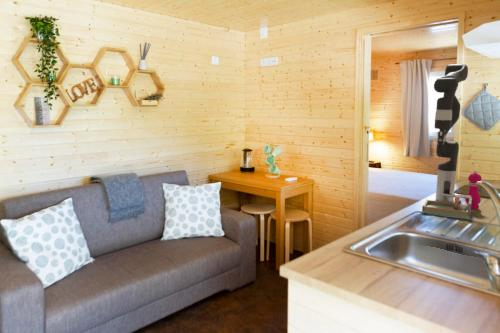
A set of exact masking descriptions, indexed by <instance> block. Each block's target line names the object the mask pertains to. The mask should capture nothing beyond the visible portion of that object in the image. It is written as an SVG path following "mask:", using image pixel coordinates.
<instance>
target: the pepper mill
mask: <svg viewBox="0 0 500 333" xmlns="http://www.w3.org/2000/svg"><path fill="white" fill-rule="evenodd" d="M467 180H468V181H469V182H468V185H469V190H468V192H467V193H466V195H470V196H471V197H472V202H471V210H475V211H476V210H480V205H479V204H480V203H481V202H482V199H481V195H480V193H479V187H480V186H478V185H476V182H477V181H480V182H481V181H482V175H481V174H479V173H478V171H477V170H473V173H470V174H469V175H468V177H467ZM464 201H465V204H469V199H468V198H464Z"/></svg>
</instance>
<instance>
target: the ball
mask: <svg viewBox="0 0 500 333" xmlns="http://www.w3.org/2000/svg"><path fill="white" fill-rule="evenodd" d="M460 210H461V211H467V210H468V205H467V203H466V202H465V203H461V204H460Z"/></svg>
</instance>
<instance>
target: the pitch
mask: <svg viewBox="0 0 500 333" xmlns="http://www.w3.org/2000/svg"><path fill="white" fill-rule="evenodd" d="M471 202H472V197H471V199H469V204H467V203H466V204H467V205H468V210H467V211H461V210H460V204H462V200H461V199H460V201H459V205H458V209H457V210H454V202H444V201H438V200H431V199H426V200H425V201H424V203H423V205H422V207H421V208H422V209H421V213H422V214H424V213H428V214H427V215H432V214H434V216H440V215H441V216H442V217H448V216H449V217H450V218H456V217H459V218H458V219H464V218H467V219H466V220H470V219H471V211H472V209H471Z"/></svg>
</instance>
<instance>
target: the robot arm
mask: <svg viewBox="0 0 500 333" xmlns="http://www.w3.org/2000/svg"><path fill="white" fill-rule="evenodd" d="M468 74H469V67H468V65H467V64H464V63H460V64H459V63H457V64H456V63H455V64H453V63H452V64H447V65H446V67H445V70H444V76H440V77H438V78H436V80H435V81H434V84H433V89H434V91H435V92H437V93H439V94H440V93H443V96H442V97H439V98H438V99H437V101H436V109H435V110H436V111H435V116H434V129H435V130H436V129H438V132H437V142H436V149H435V150H436V151H435V152H436V156H437V157H438V158H445V159H446V158H447V159H449V161H447V162H444V163H439V164H438V166H437V175H436V176H437V179H436V189H435V190H436V192H435V201H442V202H451V203H453V202H454V201H455V197H449V196H443V195H442V194H443V189H444V181H450V182H451V185H450V193H451V194H455V192H456V191H455V188H456V177H457V167H458V166H457V164H458V158H459V151H460V150H459V149H460V145H459V142H458V141H452V140H451V141H450V140H447V136H448V133H449V132H450V131H451V129H452V128H453V127H454V125H455V124H456V123H457V122H458V120H459V119H460V116H461V115H460V113H461V103H460V101H459V99H458V98H457V96H456V93H457V89H458V87H459V83H461V82H464V81H466V80H467V78H468Z"/></svg>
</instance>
